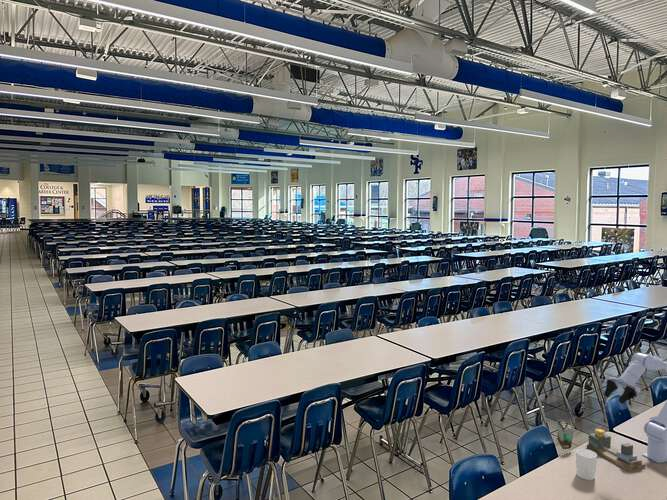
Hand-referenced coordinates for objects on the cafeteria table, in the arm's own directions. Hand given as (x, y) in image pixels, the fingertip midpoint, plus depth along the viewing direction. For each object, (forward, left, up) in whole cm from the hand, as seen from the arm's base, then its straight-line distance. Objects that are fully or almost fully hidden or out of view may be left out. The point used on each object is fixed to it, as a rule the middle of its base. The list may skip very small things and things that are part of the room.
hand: (612, 399), depth 208 cm
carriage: (-10, 0, -28) cm, 30 cm away
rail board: (-10, -6, -30) cm, 32 cm away
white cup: (+16, +3, -31) cm, 35 cm away
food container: (+2, -22, -31) cm, 38 cm away
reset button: (-10, -14, -26) cm, 32 cm away
